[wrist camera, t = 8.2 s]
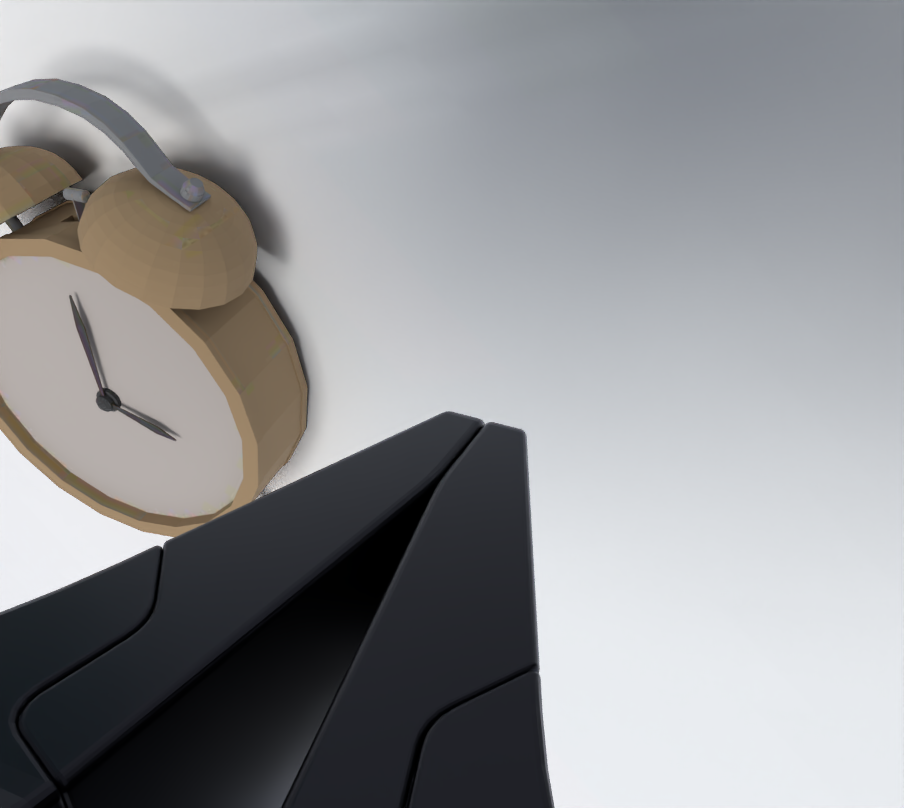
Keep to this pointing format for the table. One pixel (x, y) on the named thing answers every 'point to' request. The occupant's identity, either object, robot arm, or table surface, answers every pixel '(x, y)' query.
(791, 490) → the table surface
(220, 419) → the alarm clock
